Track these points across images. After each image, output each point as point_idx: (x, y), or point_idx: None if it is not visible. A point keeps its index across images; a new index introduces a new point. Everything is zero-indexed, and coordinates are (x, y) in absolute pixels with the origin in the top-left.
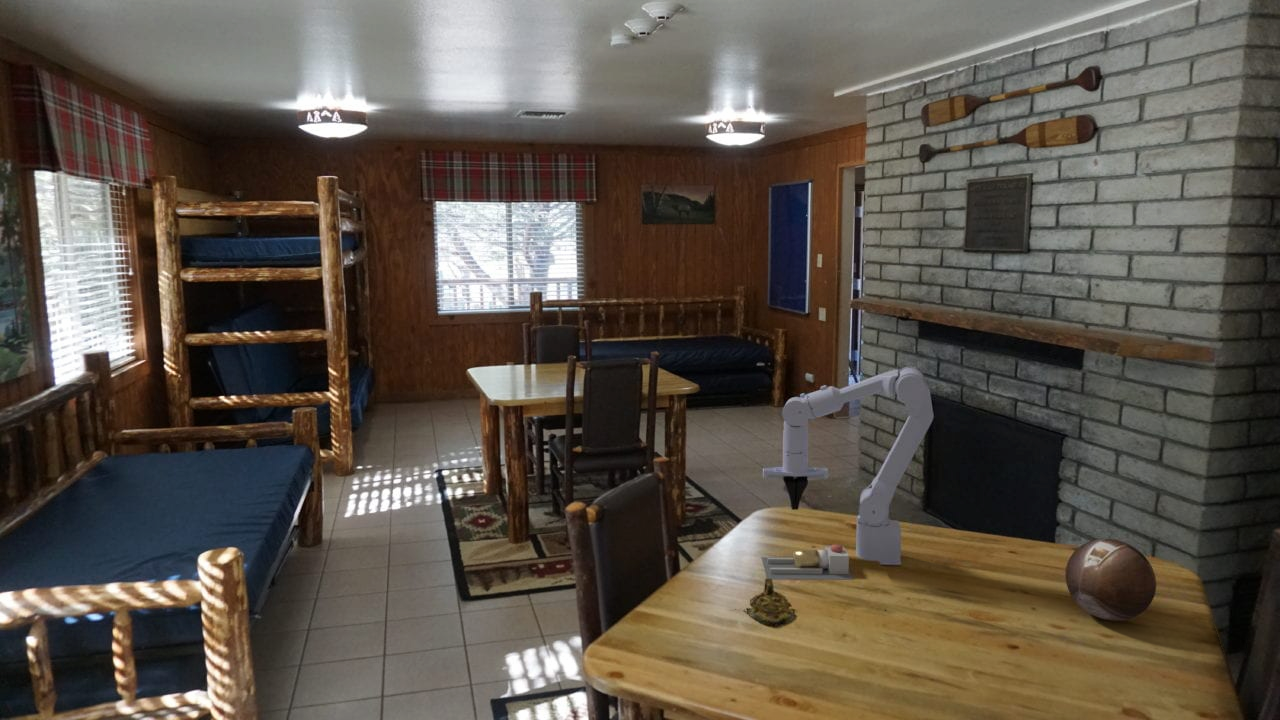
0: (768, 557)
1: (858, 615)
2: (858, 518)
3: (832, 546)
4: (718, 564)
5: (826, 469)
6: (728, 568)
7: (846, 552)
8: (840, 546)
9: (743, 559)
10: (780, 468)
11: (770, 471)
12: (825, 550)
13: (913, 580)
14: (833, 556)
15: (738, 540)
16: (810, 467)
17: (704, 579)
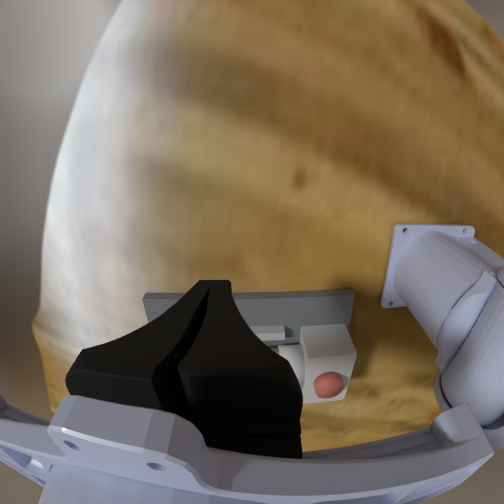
0: (159, 301)
1: (303, 442)
2: (447, 331)
3: (318, 392)
4: (68, 304)
5: (468, 475)
6: (89, 323)
7: (346, 386)
8: (338, 389)
9: (105, 280)
10: (25, 442)
11: (22, 470)
12: (299, 383)
13: (436, 351)
14: (309, 402)
15: (79, 149)
16: (375, 493)
17: (71, 359)
